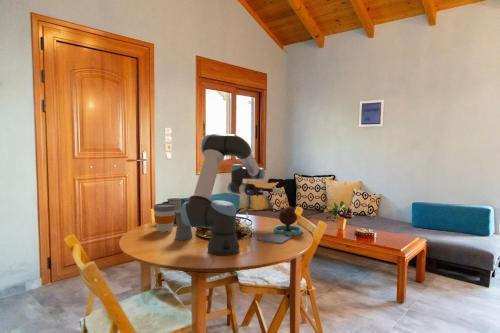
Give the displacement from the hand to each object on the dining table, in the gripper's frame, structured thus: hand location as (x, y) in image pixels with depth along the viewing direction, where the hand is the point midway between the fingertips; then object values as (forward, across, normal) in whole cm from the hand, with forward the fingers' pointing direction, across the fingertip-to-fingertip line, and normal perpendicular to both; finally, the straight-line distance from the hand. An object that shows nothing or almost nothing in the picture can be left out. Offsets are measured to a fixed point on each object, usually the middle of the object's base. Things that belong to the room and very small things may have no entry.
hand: (274, 192), depth 199 cm
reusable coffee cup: (-46, +46, -22) cm, 69 cm away
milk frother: (-58, +31, -22) cm, 69 cm away
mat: (+13, +17, -22) cm, 30 cm away
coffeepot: (-24, +48, -22) cm, 58 cm away
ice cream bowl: (+10, 0, -22) cm, 24 cm away
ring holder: (+10, 0, -22) cm, 24 cm away
